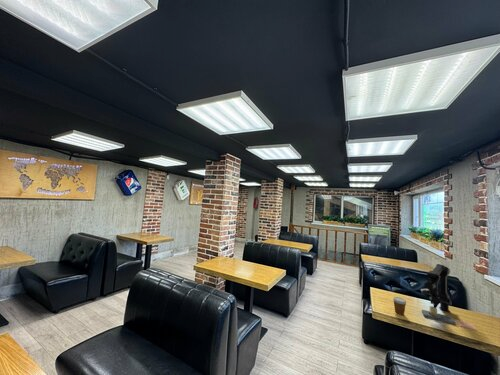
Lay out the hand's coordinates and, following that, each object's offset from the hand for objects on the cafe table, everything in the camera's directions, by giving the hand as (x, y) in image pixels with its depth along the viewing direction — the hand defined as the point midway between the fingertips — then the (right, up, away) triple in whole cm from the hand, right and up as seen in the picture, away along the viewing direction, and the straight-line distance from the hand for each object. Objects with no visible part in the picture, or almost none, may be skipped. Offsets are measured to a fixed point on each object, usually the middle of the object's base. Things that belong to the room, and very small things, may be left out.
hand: (433, 305), depth 177 cm
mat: (+17, -10, -11) cm, 22 cm away
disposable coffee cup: (-28, -8, +2) cm, 29 cm away
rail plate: (+2, -9, -2) cm, 10 cm away
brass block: (-1, -9, -1) cm, 9 cm away
